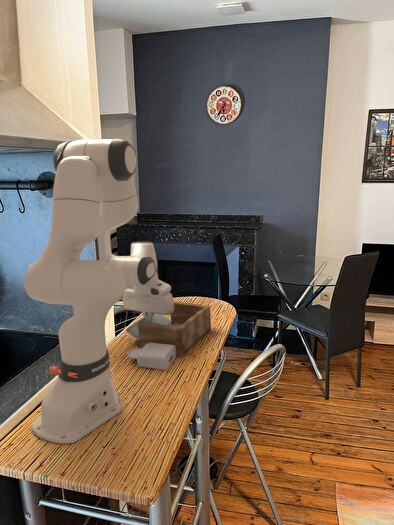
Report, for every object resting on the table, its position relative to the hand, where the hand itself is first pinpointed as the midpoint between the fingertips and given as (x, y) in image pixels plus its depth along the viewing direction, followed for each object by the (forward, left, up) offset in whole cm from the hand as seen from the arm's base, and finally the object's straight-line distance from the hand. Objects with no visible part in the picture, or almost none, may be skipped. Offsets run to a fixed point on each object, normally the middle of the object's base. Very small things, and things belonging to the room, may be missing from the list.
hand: (149, 322), depth 144 cm
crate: (0, -11, -5) cm, 12 cm away
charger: (-17, -10, -5) cm, 20 cm away
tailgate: (0, -4, -3) cm, 5 cm away
